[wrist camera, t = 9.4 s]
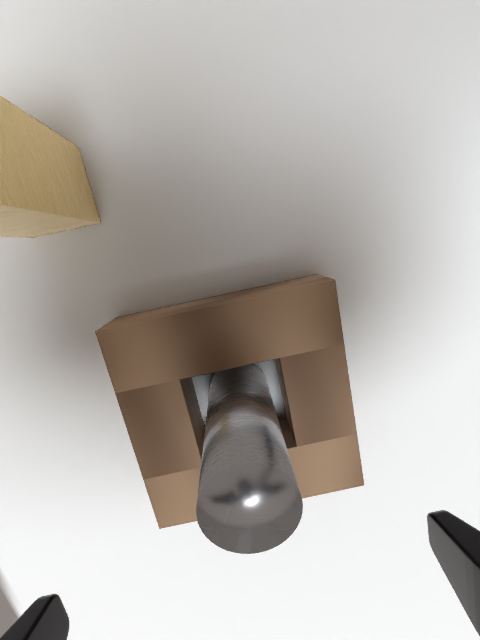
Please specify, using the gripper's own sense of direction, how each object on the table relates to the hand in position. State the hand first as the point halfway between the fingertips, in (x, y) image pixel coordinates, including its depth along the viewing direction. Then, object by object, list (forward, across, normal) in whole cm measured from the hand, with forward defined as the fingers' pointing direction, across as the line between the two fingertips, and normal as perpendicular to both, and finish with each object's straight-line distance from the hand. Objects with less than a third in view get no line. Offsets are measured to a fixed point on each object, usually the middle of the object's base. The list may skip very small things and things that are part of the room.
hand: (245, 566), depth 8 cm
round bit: (+10, 0, 0) cm, 10 cm away
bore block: (+10, 0, 0) cm, 10 cm away
